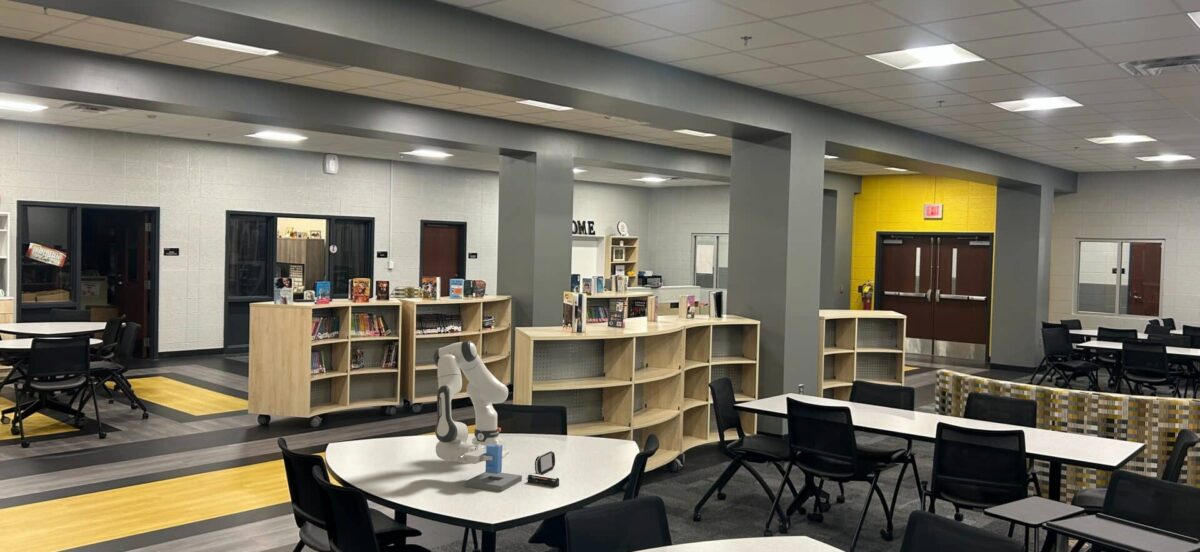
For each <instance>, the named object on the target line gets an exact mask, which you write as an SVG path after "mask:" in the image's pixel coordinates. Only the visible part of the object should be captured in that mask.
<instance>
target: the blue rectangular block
mask: <svg viewBox="0 0 1200 552" xmlns="http://www.w3.org/2000/svg"><path fill="white" fill-rule="evenodd" d="M486 456H494V459H493V460H485V470H484V472H486V473H493V474H498V473H502V470H503V469H502V468H503V467H502V466H503V463H502V462H503V458H502V446H501V445H499V443H495V445H493V444H490V445H487V446H486Z"/></svg>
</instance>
